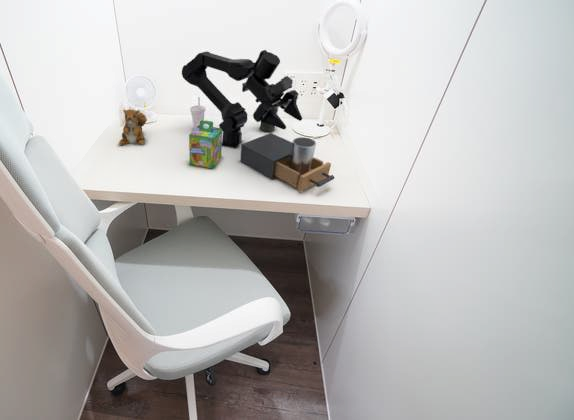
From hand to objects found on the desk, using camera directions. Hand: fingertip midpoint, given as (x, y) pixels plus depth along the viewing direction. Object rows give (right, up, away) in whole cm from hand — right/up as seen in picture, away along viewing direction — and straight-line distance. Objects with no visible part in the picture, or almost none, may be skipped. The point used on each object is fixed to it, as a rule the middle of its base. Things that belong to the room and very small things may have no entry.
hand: (293, 124), depth 103 cm
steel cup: (+2, -16, +1) cm, 16 cm away
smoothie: (-31, +6, +35) cm, 47 cm away
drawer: (+3, -17, +1) cm, 17 cm away
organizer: (-5, -11, +10) cm, 16 cm away
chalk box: (-28, -10, +13) cm, 32 cm away
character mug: (-1, +6, +33) cm, 34 cm away
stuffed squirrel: (-57, +2, +30) cm, 64 cm away
